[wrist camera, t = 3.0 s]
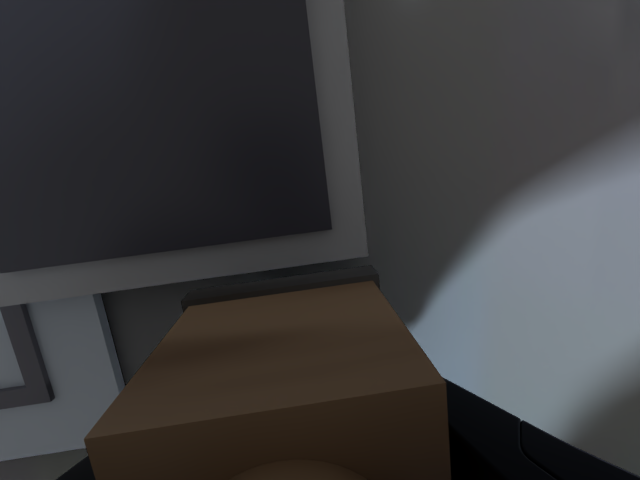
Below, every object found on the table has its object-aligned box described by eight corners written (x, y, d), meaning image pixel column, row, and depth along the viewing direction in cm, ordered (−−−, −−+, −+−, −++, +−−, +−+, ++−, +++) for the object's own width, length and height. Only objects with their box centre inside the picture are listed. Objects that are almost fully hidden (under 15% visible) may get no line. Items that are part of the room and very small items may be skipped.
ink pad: (360, 247, 11) (370, 258, 10) (17, 294, 11) (-27, 313, 9) (320, -154, 9) (325, -216, 8) (-115, -119, 9) (-198, -179, 7)
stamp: (385, 420, 10) (619, 1057, 3) (223, 446, 10) (24, 1207, 3) (371, 265, 9) (664, 624, 2) (190, 290, 9) (-262, 803, 2)
